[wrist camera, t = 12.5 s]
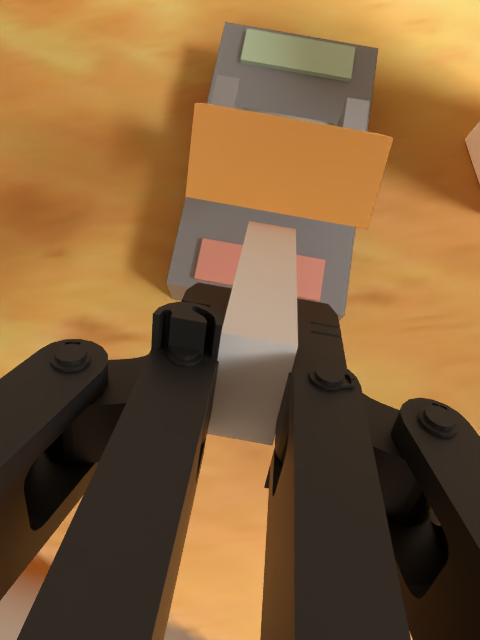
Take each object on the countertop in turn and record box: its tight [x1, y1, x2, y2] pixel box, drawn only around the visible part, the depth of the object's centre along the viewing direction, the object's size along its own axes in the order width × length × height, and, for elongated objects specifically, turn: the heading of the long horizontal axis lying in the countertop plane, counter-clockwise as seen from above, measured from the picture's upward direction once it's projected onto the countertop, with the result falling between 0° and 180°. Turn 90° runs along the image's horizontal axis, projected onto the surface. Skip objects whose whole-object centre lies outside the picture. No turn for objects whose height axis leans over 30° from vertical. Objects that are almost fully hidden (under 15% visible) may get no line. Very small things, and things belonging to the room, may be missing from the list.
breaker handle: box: [185, 103, 393, 229], centre depth 20 cm, size 3×6×15 cm
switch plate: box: [166, 22, 378, 320], centre depth 27 cm, size 18×10×7 cm, turn 170°
